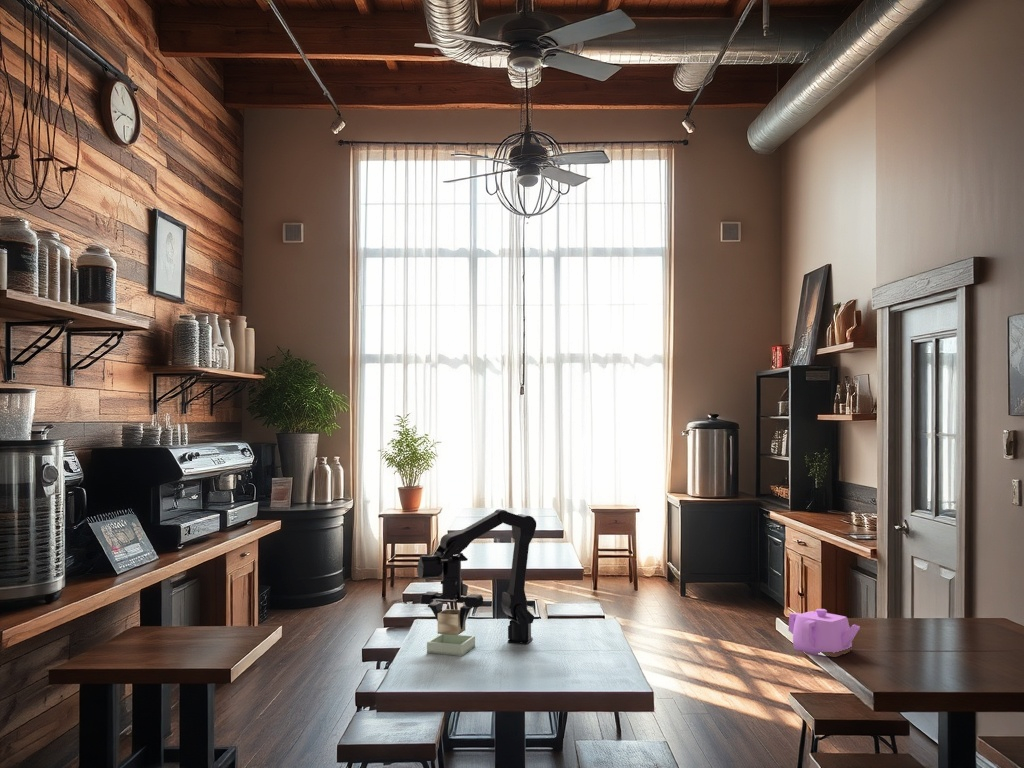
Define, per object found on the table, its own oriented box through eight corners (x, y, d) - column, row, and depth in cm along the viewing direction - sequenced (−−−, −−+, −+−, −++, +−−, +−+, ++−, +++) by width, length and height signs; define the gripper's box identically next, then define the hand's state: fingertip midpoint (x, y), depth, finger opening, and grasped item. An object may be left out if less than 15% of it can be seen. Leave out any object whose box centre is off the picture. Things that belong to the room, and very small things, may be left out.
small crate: (465, 630, 251) (465, 610, 251) (457, 635, 245) (457, 614, 245) (445, 628, 253) (445, 609, 253) (437, 633, 247) (437, 613, 247)
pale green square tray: (475, 646, 252) (475, 635, 252) (461, 656, 241) (461, 645, 242) (441, 643, 255) (441, 633, 256) (426, 652, 245) (427, 642, 245)
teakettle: (785, 643, 255) (785, 603, 256) (841, 643, 254) (840, 603, 255) (803, 658, 238) (802, 615, 239) (862, 659, 237) (861, 616, 238)
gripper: (489, 573, 255) (489, 624, 254) (434, 570, 260) (434, 620, 259) (476, 579, 244) (476, 632, 243) (419, 576, 250) (419, 628, 249)
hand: (451, 627), depth 249 cm, fingers closed on small crate, 6 cm apart
